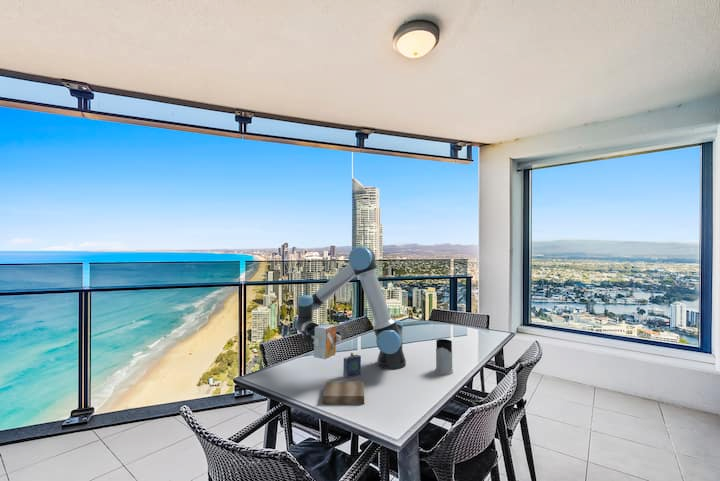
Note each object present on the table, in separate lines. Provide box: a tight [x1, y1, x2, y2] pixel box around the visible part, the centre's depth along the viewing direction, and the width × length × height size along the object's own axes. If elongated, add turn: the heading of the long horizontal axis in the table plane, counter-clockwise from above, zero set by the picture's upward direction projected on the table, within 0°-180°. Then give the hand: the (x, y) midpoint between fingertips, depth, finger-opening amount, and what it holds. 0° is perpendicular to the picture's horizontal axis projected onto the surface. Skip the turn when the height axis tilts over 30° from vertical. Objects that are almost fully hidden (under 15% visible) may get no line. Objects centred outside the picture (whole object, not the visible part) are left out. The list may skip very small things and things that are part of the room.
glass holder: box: [435, 338, 454, 376], centre depth 157 cm, size 9×14×15 cm, turn 152°
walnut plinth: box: [322, 381, 365, 405], centre depth 126 cm, size 16×14×3 cm
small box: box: [313, 323, 337, 360], centre depth 136 cm, size 8×6×13 cm
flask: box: [342, 352, 362, 379], centre depth 148 cm, size 9×3×11 cm, turn 121°
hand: (329, 341), depth 132 cm, fingers closed on small box, 10 cm apart
